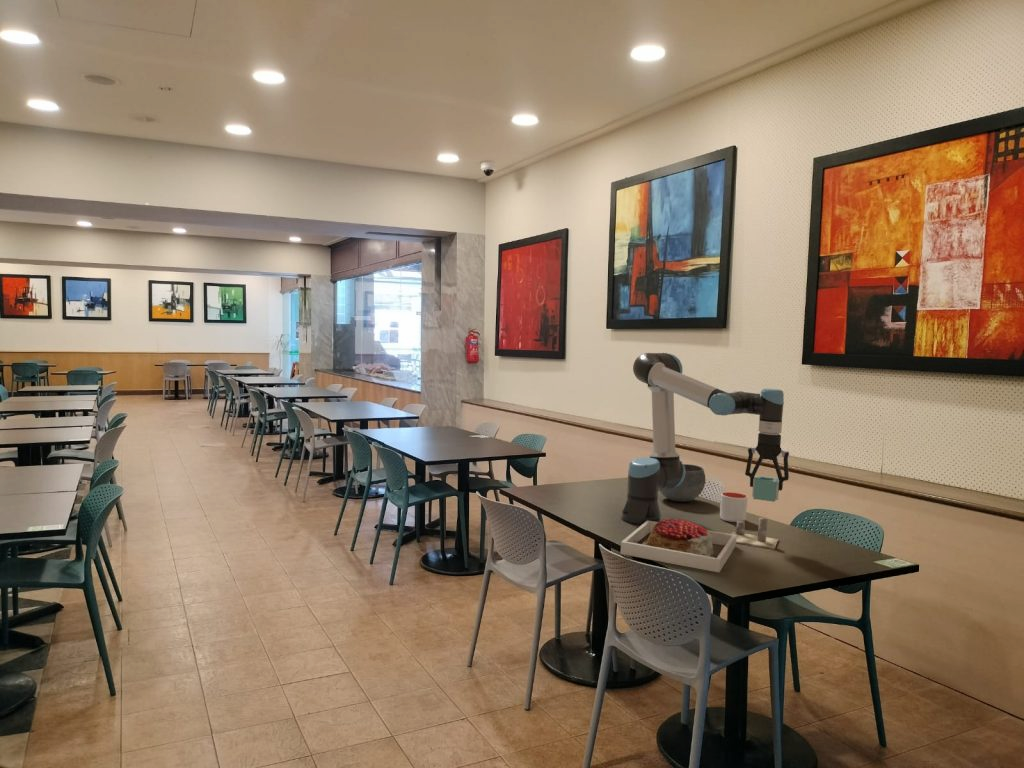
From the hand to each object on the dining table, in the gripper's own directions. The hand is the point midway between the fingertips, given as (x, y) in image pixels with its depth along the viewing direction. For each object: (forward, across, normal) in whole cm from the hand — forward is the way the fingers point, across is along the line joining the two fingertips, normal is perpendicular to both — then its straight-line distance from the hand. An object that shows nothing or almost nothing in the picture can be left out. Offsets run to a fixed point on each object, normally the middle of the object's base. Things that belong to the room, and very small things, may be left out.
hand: (765, 497), depth 249 cm
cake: (+17, -24, -29) cm, 41 cm away
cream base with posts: (+16, -3, 0) cm, 17 cm away
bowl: (+16, -40, +46) cm, 63 cm away
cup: (+16, -14, +26) cm, 34 cm away
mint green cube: (0, 0, 0) cm, 0 cm away
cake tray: (+16, -23, -26) cm, 38 cm away
